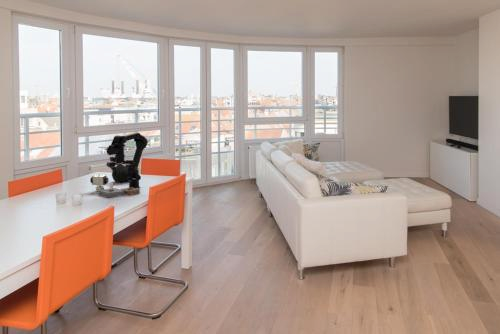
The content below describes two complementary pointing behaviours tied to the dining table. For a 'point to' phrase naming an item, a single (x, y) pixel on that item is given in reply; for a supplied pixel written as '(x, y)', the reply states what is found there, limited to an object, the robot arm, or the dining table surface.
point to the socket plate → (111, 192)
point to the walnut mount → (131, 191)
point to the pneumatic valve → (99, 181)
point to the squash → (120, 174)
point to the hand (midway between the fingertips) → (121, 175)
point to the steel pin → (111, 186)
